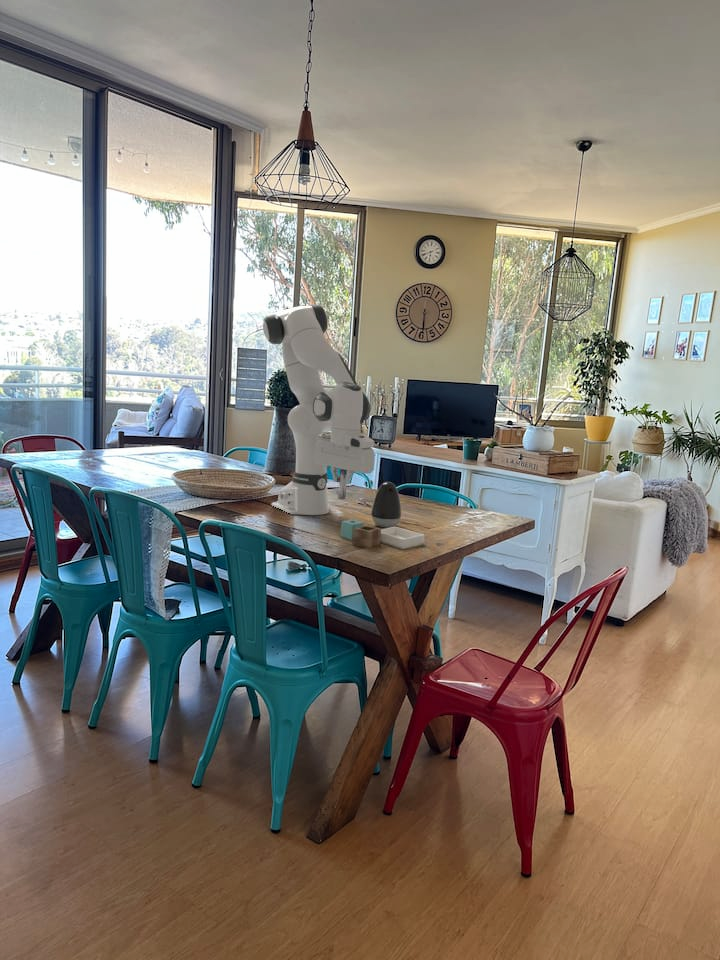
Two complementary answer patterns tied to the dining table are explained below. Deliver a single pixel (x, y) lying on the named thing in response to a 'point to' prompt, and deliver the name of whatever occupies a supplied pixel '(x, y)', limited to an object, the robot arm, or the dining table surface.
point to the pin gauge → (342, 486)
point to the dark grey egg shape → (386, 506)
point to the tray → (401, 537)
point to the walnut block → (366, 536)
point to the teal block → (349, 528)
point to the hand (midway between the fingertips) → (341, 483)
